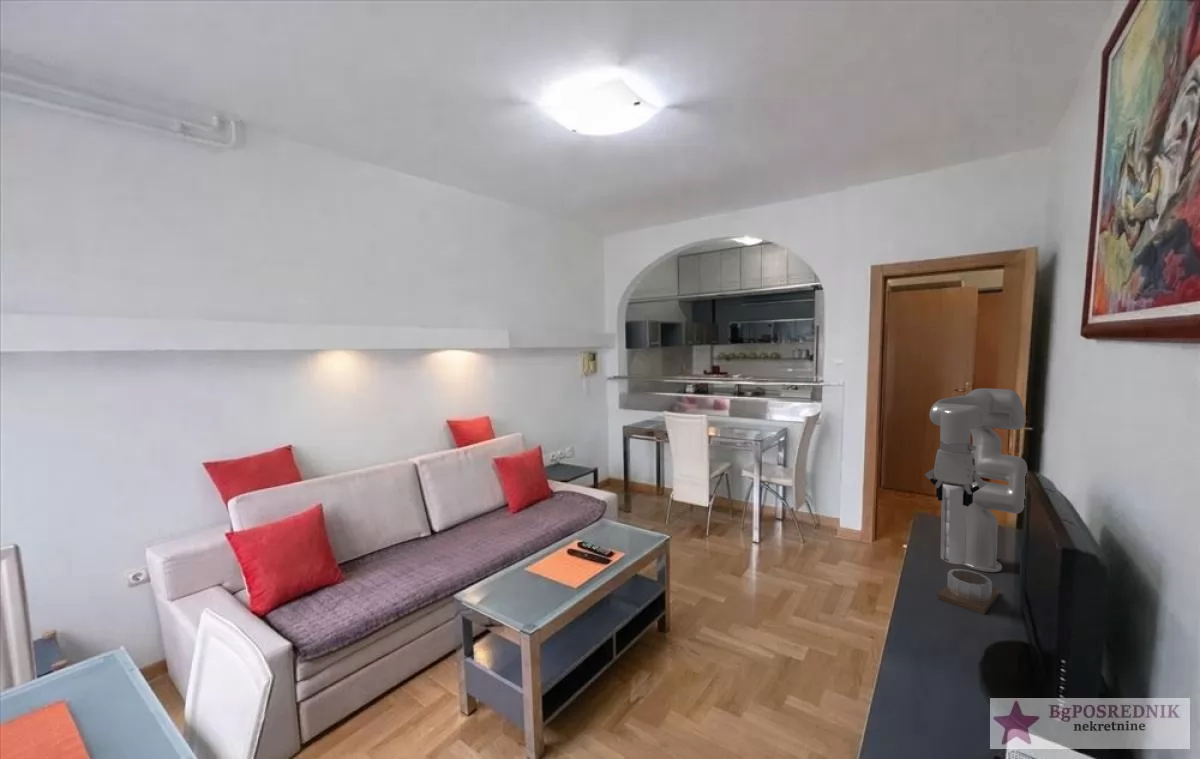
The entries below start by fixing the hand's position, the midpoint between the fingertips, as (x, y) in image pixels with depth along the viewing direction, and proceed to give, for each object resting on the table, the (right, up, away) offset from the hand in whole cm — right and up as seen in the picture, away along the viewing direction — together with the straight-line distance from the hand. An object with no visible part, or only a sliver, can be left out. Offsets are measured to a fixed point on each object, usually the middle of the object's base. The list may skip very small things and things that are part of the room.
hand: (954, 501), depth 148 cm
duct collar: (+9, -32, +5) cm, 34 cm away
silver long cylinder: (+1, -19, +2) cm, 19 cm away
